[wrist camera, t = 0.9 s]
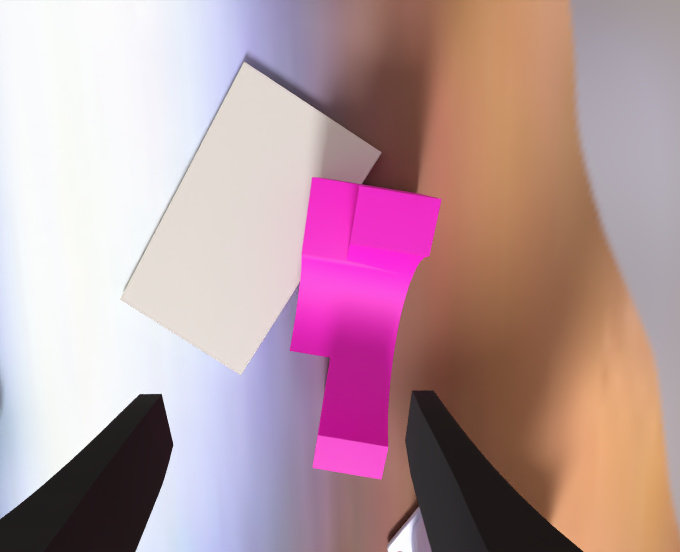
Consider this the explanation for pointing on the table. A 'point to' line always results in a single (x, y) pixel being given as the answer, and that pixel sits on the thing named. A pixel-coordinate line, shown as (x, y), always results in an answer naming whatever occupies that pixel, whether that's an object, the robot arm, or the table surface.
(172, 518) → the table surface
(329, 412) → the toy block
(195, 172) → the mat
